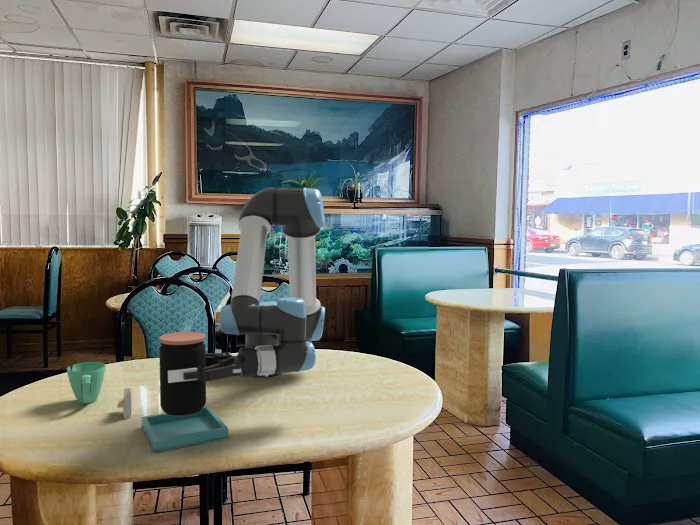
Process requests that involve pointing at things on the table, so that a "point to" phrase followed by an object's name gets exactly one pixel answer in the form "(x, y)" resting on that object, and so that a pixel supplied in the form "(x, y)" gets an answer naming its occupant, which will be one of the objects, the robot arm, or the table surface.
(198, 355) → the coffee jar
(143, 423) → the tray
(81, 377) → the mug
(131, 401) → the architectural model
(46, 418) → the table surface
